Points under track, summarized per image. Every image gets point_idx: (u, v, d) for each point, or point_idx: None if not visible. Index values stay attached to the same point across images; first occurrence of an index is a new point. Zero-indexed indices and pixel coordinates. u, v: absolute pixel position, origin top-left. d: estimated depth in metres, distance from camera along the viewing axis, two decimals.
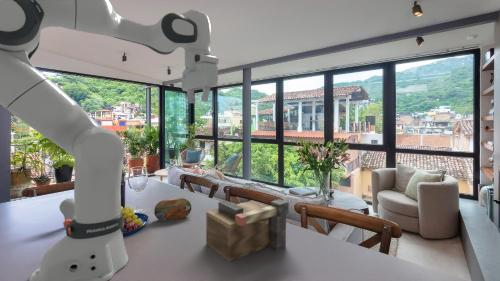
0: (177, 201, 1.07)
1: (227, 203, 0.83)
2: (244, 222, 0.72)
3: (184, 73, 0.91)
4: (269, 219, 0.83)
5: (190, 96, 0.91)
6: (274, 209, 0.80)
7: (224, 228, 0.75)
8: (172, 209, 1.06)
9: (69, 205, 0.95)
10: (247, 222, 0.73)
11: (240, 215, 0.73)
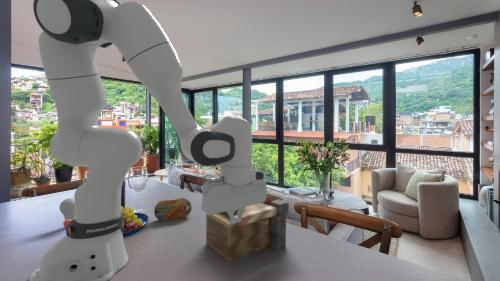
0: (177, 201, 1.07)
1: None
2: (245, 222, 0.72)
3: (217, 191, 0.65)
4: (269, 219, 0.83)
5: None
6: (274, 209, 0.80)
7: (224, 228, 0.75)
8: (172, 209, 1.06)
9: (69, 205, 0.95)
10: (248, 222, 0.73)
11: None
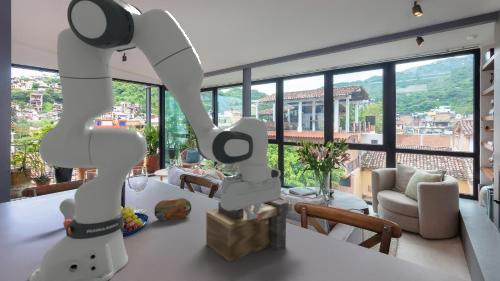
0: (177, 201, 1.07)
1: None
2: (260, 217, 0.76)
3: (236, 188, 0.68)
4: (269, 219, 0.83)
5: None
6: None
7: (224, 228, 0.75)
8: (172, 209, 1.06)
9: (69, 205, 0.95)
10: (263, 217, 0.77)
11: None
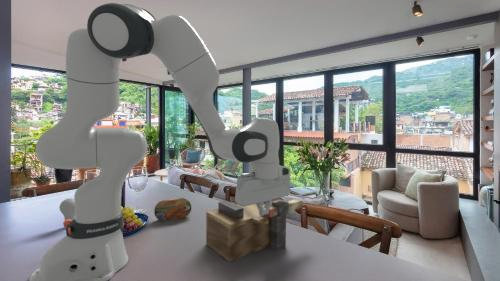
0: (177, 201, 1.07)
1: (227, 203, 0.83)
2: (273, 214, 0.79)
3: (250, 185, 0.72)
4: (269, 219, 0.83)
5: None
6: (297, 202, 0.87)
7: (224, 228, 0.75)
8: (172, 209, 1.06)
9: (69, 205, 0.95)
10: (275, 214, 0.80)
11: None
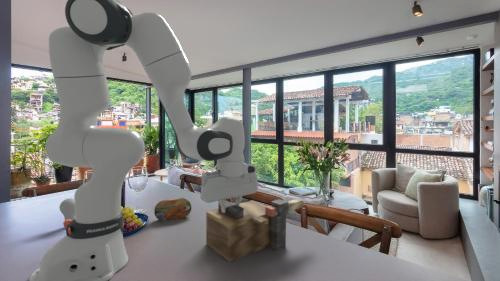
0: (177, 201, 1.07)
1: (227, 203, 0.83)
2: (274, 213, 0.79)
3: (214, 182, 0.75)
4: (269, 219, 0.83)
5: None
6: (298, 202, 0.87)
7: (224, 228, 0.75)
8: (172, 209, 1.06)
9: (69, 205, 0.95)
10: (276, 213, 0.80)
11: (270, 207, 0.80)
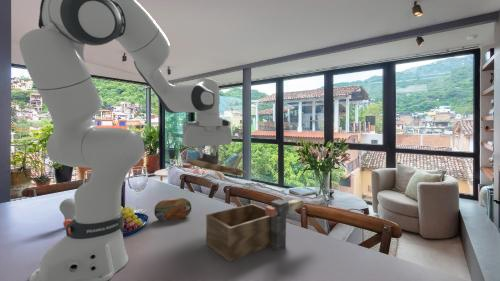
0: (177, 201, 1.07)
1: None
2: (274, 213, 0.79)
3: (193, 130, 0.92)
4: (269, 219, 0.83)
5: None
6: (298, 202, 0.87)
7: (224, 228, 0.75)
8: (172, 209, 1.06)
9: (69, 205, 0.95)
10: (276, 213, 0.80)
11: (270, 207, 0.80)
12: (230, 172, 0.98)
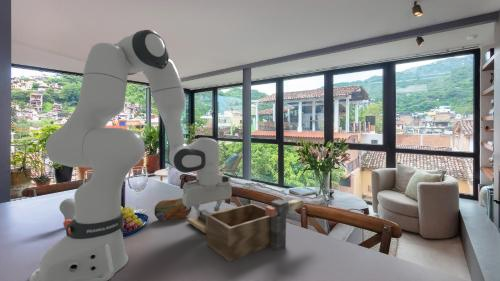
0: (177, 201, 1.07)
1: (204, 212, 1.01)
2: (274, 213, 0.79)
3: (193, 190, 0.93)
4: (269, 219, 0.83)
5: None
6: (298, 202, 0.87)
7: (224, 228, 0.75)
8: (172, 209, 1.06)
9: (69, 205, 0.95)
10: (276, 213, 0.80)
11: (270, 207, 0.80)
12: None
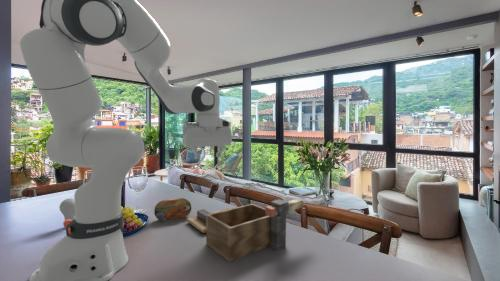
0: (177, 201, 1.07)
1: (204, 211, 1.01)
2: (274, 213, 0.79)
3: (193, 131, 0.92)
4: (269, 219, 0.83)
5: None
6: (298, 202, 0.87)
7: (224, 228, 0.75)
8: (172, 209, 1.06)
9: (69, 205, 0.95)
10: (276, 213, 0.80)
11: (270, 207, 0.80)
12: None
